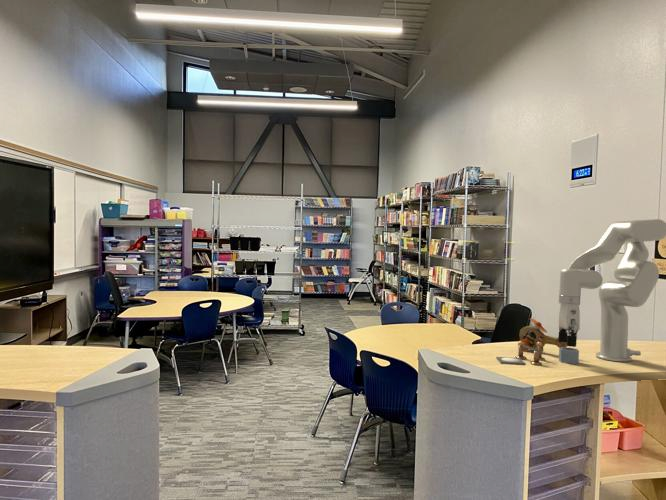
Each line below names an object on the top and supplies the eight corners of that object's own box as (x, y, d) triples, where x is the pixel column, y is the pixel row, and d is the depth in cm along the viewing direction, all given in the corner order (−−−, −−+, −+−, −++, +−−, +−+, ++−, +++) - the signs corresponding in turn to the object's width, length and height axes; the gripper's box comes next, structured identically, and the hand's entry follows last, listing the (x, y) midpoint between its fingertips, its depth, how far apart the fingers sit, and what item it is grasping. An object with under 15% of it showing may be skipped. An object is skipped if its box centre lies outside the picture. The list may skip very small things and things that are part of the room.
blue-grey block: (574, 360, 187) (574, 347, 187) (580, 364, 180) (580, 351, 180) (557, 359, 188) (557, 347, 188) (562, 363, 181) (563, 350, 181)
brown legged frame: (542, 358, 189) (543, 341, 189) (553, 366, 176) (553, 347, 176) (514, 356, 191) (514, 339, 191) (522, 364, 178) (523, 346, 178)
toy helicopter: (524, 347, 211) (525, 316, 211) (572, 356, 194) (572, 323, 194) (515, 349, 205) (515, 318, 205) (562, 358, 189) (563, 324, 189)
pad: (519, 359, 186) (519, 357, 186) (525, 364, 177) (525, 363, 177) (496, 358, 187) (496, 356, 187) (500, 363, 179) (501, 361, 179)
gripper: (588, 303, 175) (585, 349, 175) (571, 299, 192) (569, 341, 192) (567, 301, 176) (564, 347, 176) (552, 298, 193) (549, 339, 193)
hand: (566, 344), depth 184 cm, fingers open, 9 cm apart
